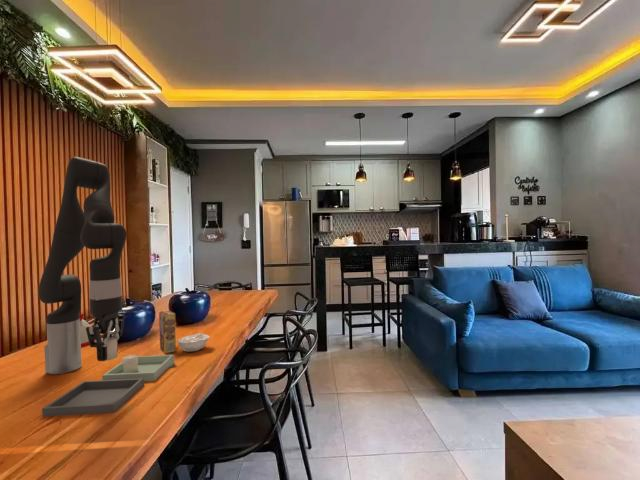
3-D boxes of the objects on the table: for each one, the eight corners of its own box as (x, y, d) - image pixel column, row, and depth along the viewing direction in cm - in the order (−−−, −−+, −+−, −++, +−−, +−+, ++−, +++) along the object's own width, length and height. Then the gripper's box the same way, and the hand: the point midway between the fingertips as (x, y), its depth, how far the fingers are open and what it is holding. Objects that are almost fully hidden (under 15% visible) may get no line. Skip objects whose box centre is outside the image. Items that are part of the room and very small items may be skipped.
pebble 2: (119, 375, 106) (119, 360, 106) (127, 369, 111) (126, 355, 111) (134, 374, 107) (133, 359, 107) (141, 369, 111) (140, 354, 111)
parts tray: (42, 420, 83) (42, 408, 83) (84, 391, 98) (83, 381, 98) (114, 416, 83) (113, 404, 83) (144, 387, 99) (143, 378, 99)
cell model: (178, 348, 134) (177, 332, 134) (209, 344, 138) (208, 328, 138) (177, 357, 125) (176, 339, 124) (210, 352, 129) (209, 335, 129)
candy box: (177, 351, 131) (175, 313, 131) (165, 354, 128) (163, 315, 128) (170, 345, 138) (169, 309, 137) (159, 348, 135) (158, 311, 135)
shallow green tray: (102, 386, 101) (102, 375, 101) (129, 366, 116) (129, 356, 116) (154, 384, 102) (154, 372, 101) (174, 364, 117) (174, 354, 117)
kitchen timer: (75, 350, 136) (73, 314, 136) (46, 349, 138) (45, 314, 138) (102, 339, 149) (101, 307, 149) (76, 339, 152) (75, 307, 151)
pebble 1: (94, 361, 88) (93, 342, 88) (104, 355, 93) (104, 337, 93) (111, 360, 89) (110, 342, 88) (120, 354, 93) (120, 337, 93)
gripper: (107, 291, 97) (109, 348, 98) (73, 301, 83) (75, 368, 83) (133, 290, 98) (135, 347, 98) (103, 300, 83) (105, 367, 84)
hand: (107, 356), depth 91 cm, fingers closed on pebble 1, 4 cm apart
